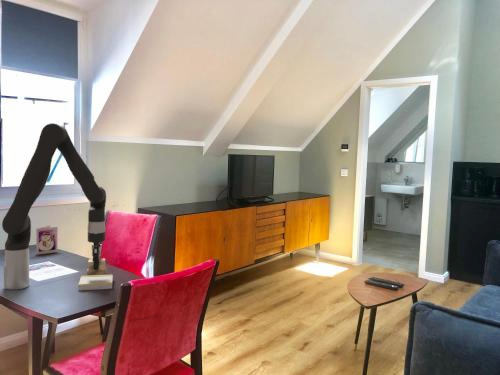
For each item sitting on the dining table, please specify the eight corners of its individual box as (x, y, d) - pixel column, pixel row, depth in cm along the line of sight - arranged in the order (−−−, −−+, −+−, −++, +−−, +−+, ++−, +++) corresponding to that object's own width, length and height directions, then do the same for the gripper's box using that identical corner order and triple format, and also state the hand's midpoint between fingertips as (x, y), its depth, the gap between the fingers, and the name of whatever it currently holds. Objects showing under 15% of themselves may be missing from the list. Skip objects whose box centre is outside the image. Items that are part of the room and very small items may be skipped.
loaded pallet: (87, 275, 183) (86, 262, 183) (87, 272, 188) (87, 259, 187) (105, 274, 186) (105, 261, 185) (106, 271, 190) (106, 258, 190)
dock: (78, 290, 179) (78, 284, 179) (81, 281, 191) (81, 276, 191) (112, 288, 184) (112, 282, 183) (112, 280, 195) (112, 274, 195)
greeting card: (36, 254, 234) (36, 229, 233) (33, 252, 239) (33, 227, 238) (57, 252, 242) (57, 227, 240) (53, 249, 247) (53, 225, 246)
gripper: (89, 228, 191) (88, 263, 192) (86, 234, 177) (86, 272, 179) (106, 227, 193) (105, 263, 194) (104, 233, 179) (104, 271, 181)
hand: (96, 267), depth 186 cm, fingers closed on loaded pallet, 5 cm apart
